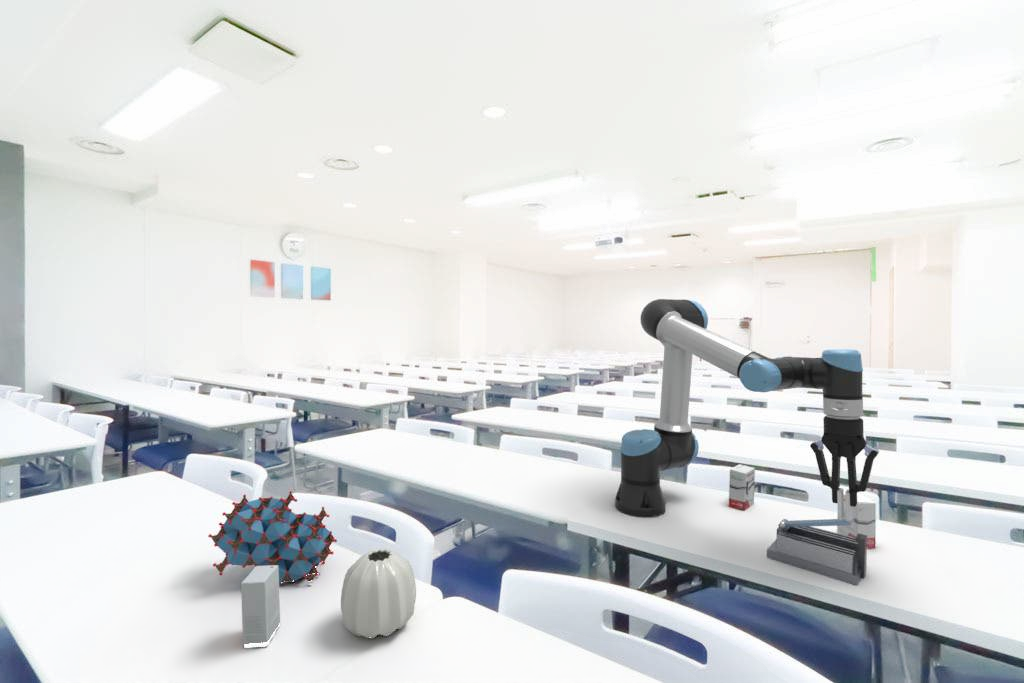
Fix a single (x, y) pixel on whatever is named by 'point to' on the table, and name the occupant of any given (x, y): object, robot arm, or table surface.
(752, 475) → the ink box
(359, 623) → the vase
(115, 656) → the table surface
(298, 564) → the molecule model
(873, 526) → the ink box
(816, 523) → the blue long flat bar
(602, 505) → the table surface
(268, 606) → the skincare box
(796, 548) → the heatsink
